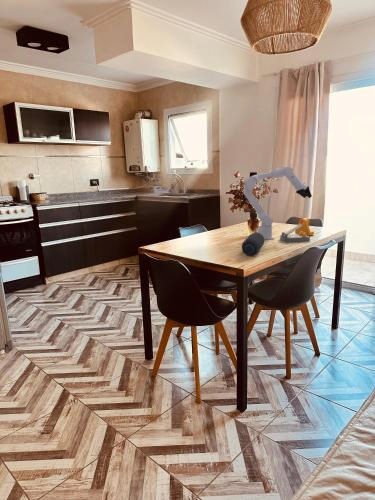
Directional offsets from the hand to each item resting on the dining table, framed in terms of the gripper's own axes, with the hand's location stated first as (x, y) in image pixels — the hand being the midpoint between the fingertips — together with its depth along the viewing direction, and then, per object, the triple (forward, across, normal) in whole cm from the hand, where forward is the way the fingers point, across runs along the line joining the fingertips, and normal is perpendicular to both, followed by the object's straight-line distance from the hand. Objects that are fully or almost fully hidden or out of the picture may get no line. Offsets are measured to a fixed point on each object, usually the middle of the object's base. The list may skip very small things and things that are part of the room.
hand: (308, 197), depth 230 cm
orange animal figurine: (+22, +9, +16) cm, 28 cm away
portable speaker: (-6, -28, +55) cm, 62 cm away
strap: (+8, -7, +24) cm, 26 cm away
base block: (+14, -6, +27) cm, 31 cm away
